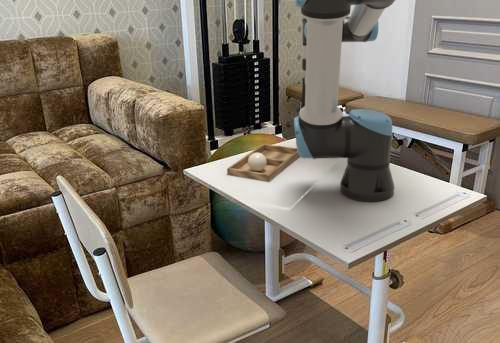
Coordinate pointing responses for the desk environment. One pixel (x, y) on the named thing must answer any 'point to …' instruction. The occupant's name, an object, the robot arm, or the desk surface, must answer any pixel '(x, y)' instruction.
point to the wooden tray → (276, 164)
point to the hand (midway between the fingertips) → (312, 123)
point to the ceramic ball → (257, 161)
